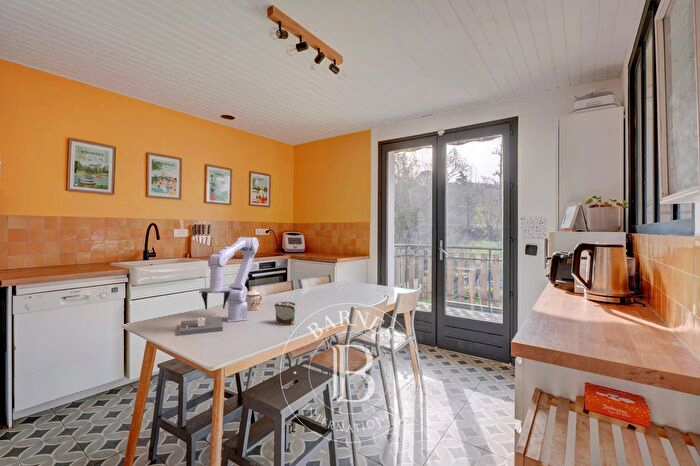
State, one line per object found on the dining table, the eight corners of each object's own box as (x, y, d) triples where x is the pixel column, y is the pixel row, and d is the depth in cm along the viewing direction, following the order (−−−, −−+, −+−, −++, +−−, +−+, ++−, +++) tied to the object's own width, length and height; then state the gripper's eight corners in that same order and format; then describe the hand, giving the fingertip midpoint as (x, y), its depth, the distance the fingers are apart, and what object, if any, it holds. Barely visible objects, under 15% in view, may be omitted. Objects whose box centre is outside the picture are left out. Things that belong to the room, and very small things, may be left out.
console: (221, 321, 168) (221, 317, 168) (222, 331, 154) (222, 326, 154) (181, 324, 161) (181, 320, 161) (178, 335, 147) (178, 330, 147)
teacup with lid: (252, 311, 188) (252, 291, 187) (240, 309, 192) (240, 289, 192) (267, 307, 198) (267, 287, 198) (256, 304, 203) (256, 285, 202)
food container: (301, 322, 169) (301, 303, 169) (294, 326, 164) (294, 305, 163) (281, 319, 174) (281, 300, 174) (273, 322, 169) (274, 302, 168)
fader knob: (204, 323, 157) (205, 315, 157) (204, 326, 153) (205, 318, 153) (198, 323, 156) (198, 316, 156) (197, 326, 152) (197, 318, 152)
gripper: (199, 280, 151) (197, 310, 151) (232, 280, 156) (231, 309, 156) (200, 278, 158) (198, 307, 157) (232, 278, 163) (231, 306, 162)
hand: (214, 308), depth 157 cm, fingers open, 7 cm apart
